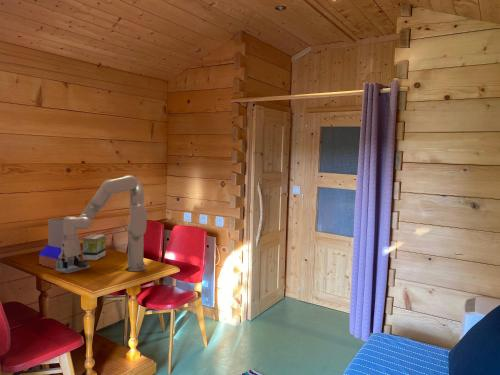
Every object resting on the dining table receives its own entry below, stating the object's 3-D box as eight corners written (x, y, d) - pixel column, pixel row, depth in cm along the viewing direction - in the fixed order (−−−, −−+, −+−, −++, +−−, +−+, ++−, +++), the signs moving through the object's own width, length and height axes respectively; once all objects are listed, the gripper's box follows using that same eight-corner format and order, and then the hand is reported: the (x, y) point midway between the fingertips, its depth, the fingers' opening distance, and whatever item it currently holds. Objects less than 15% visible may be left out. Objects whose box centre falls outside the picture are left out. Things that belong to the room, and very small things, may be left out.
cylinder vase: (48, 254, 273) (48, 218, 272) (67, 252, 279) (67, 217, 277) (48, 258, 262) (48, 221, 261) (69, 256, 268) (69, 220, 266)
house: (55, 261, 257) (55, 243, 256) (76, 265, 247) (76, 247, 246) (38, 265, 246) (38, 246, 245) (58, 270, 236) (58, 251, 236)
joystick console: (90, 267, 244) (90, 258, 243) (67, 273, 230) (67, 264, 229) (78, 264, 249) (78, 256, 248) (55, 270, 235) (55, 261, 234)
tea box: (97, 260, 260) (97, 238, 259) (82, 260, 261) (82, 238, 260) (106, 255, 275) (106, 234, 274) (91, 254, 276) (91, 233, 275)
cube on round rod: (89, 266, 241) (89, 260, 241) (84, 268, 237) (84, 261, 237) (78, 264, 246) (78, 258, 246) (72, 265, 242) (72, 259, 242)
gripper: (61, 240, 224) (61, 271, 225) (87, 235, 239) (87, 264, 240) (53, 238, 227) (53, 269, 228) (79, 234, 242) (79, 263, 243)
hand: (70, 266), depth 234 cm, fingers open, 6 cm apart
